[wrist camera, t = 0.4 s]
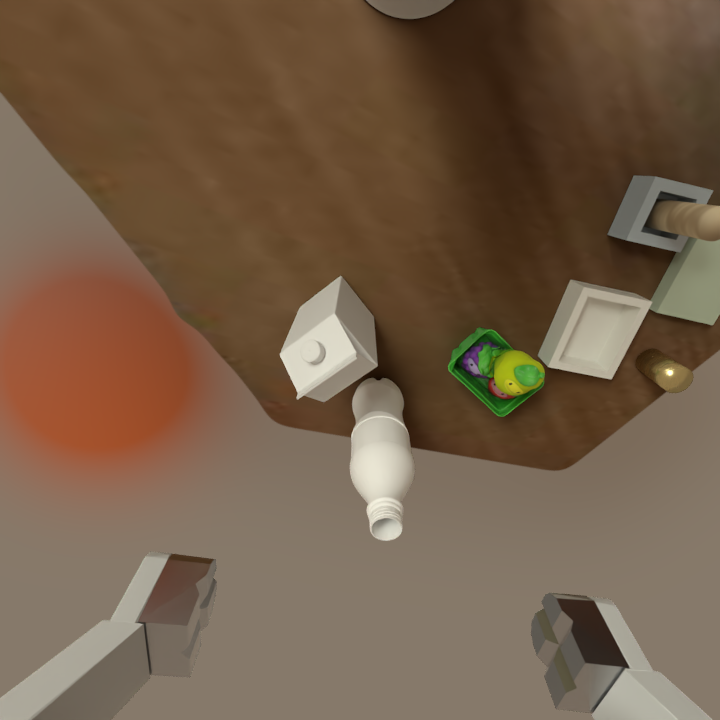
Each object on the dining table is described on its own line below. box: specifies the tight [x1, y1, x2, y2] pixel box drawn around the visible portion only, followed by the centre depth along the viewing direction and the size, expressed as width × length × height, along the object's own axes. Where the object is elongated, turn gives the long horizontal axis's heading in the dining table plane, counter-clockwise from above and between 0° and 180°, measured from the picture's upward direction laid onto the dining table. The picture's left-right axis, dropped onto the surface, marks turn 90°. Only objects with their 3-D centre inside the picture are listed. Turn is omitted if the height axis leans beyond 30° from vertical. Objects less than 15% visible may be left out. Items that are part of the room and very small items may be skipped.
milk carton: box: [280, 276, 378, 402], centre depth 47 cm, size 7×7×19 cm
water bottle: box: [350, 378, 415, 541], centre depth 49 cm, size 7×7×25 cm
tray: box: [538, 279, 652, 380], centre depth 55 cm, size 11×9×4 cm
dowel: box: [644, 199, 720, 241], centre depth 45 cm, size 3×3×10 cm
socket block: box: [607, 175, 713, 253], centre depth 48 cm, size 7×7×4 cm
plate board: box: [649, 237, 720, 325], centre depth 52 cm, size 12×8×2 cm, turn 167°
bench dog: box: [636, 349, 693, 393], centre depth 56 cm, size 4×4×6 cm
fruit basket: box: [448, 327, 545, 417], centre depth 53 cm, size 11×9×11 cm
